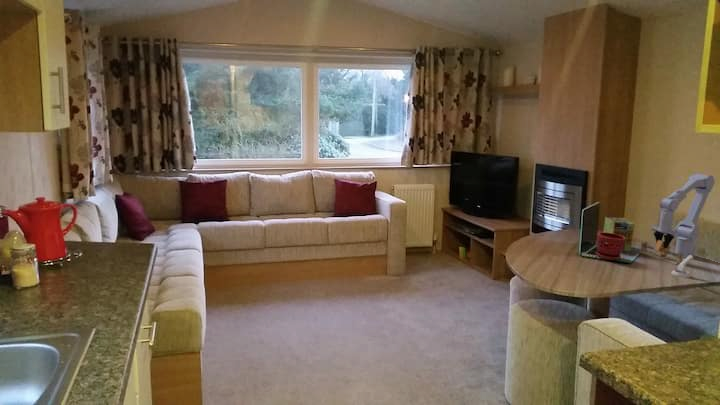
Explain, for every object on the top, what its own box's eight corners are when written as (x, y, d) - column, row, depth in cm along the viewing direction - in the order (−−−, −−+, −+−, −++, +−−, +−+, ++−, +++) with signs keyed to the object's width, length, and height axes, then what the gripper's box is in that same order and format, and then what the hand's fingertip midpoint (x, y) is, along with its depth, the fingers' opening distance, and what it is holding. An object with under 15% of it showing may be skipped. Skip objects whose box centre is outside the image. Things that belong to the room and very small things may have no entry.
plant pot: (611, 262, 264) (614, 239, 262) (589, 255, 276) (592, 232, 274) (628, 260, 270) (631, 237, 268) (606, 252, 282) (609, 231, 280)
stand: (645, 251, 288) (647, 241, 287) (684, 263, 268) (685, 253, 267) (638, 252, 286) (639, 242, 285) (676, 264, 266) (677, 254, 265)
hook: (706, 267, 245) (697, 260, 243) (685, 285, 248) (677, 278, 246) (695, 259, 252) (687, 252, 250) (675, 277, 255) (667, 269, 253)
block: (661, 255, 279) (666, 245, 279) (665, 256, 277) (671, 246, 277) (653, 249, 276) (658, 239, 276) (657, 251, 273) (662, 241, 273)
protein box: (610, 250, 287) (614, 222, 284) (601, 243, 302) (605, 216, 299) (630, 252, 286) (635, 224, 283) (620, 244, 301) (624, 217, 298)
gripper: (648, 218, 278) (644, 243, 281) (673, 225, 265) (669, 251, 268) (657, 218, 281) (653, 242, 284) (683, 224, 268) (679, 250, 271)
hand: (662, 247), depth 276 cm, fingers open, 3 cm apart
